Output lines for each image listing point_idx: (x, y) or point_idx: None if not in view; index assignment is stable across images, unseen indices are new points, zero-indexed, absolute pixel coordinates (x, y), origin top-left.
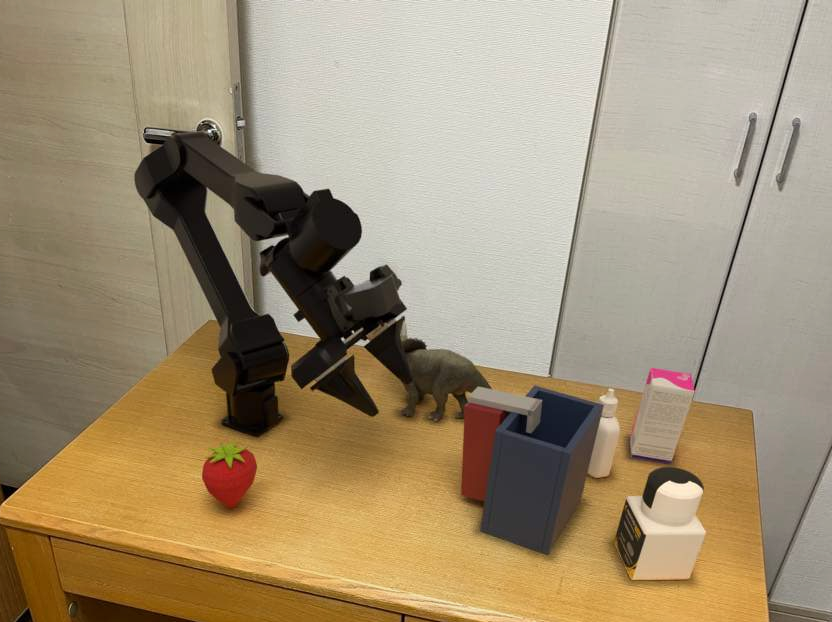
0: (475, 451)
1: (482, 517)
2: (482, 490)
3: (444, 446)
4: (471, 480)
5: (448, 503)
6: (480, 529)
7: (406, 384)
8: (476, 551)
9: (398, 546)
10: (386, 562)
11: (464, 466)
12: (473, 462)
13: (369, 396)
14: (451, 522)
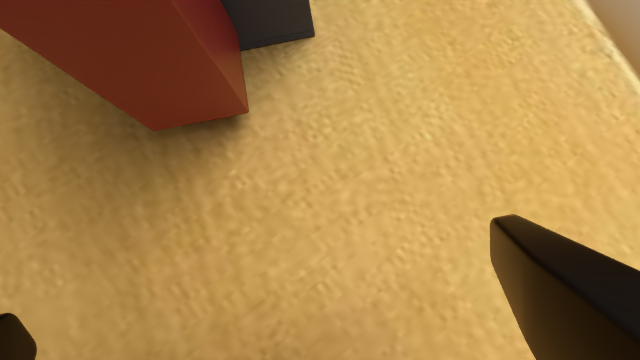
0: (197, 5)
1: (310, 11)
2: (233, 46)
3: (47, 305)
4: (231, 65)
5: (270, 143)
6: (313, 33)
7: (34, 352)
8: (378, 5)
9: (490, 129)
10: (555, 114)
11: (223, 68)
12: (212, 32)
13: (574, 277)
14: (329, 96)
